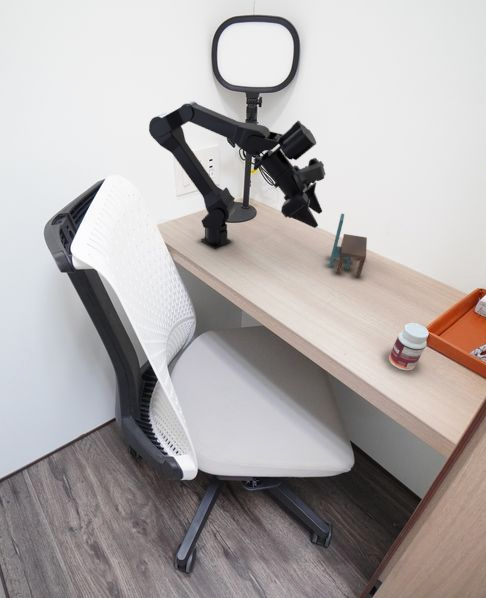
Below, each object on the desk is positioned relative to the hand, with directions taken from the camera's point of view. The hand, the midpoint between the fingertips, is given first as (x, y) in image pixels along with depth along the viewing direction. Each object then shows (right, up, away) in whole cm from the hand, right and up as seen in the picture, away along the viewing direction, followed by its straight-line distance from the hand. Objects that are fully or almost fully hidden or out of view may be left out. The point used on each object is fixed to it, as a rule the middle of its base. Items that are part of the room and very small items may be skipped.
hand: (318, 219), depth 94 cm
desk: (+9, -12, +4) cm, 16 cm away
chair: (+7, -11, +5) cm, 14 cm away
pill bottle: (+9, -33, -24) cm, 42 cm away
